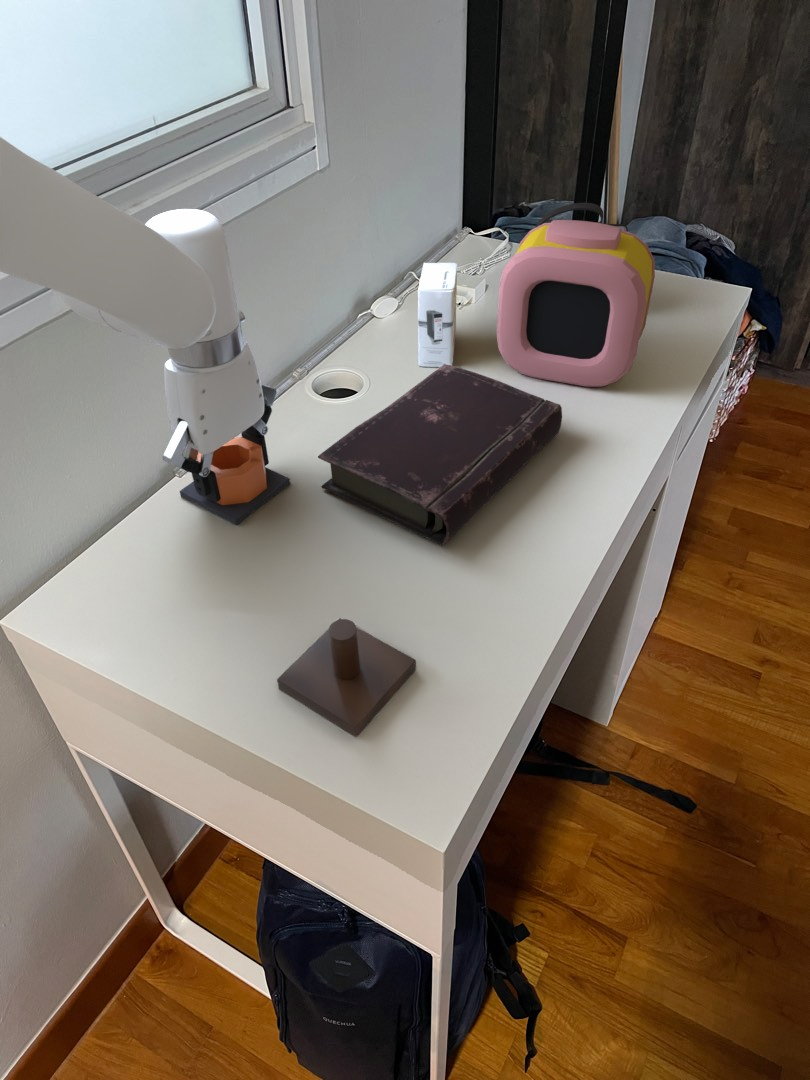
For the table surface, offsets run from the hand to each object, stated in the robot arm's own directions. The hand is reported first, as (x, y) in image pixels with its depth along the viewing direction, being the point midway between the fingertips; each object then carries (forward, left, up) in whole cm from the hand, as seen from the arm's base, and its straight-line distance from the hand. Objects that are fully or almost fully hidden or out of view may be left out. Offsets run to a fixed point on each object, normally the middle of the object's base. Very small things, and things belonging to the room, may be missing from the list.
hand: (233, 477), depth 94 cm
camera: (+63, -11, -2) cm, 64 cm away
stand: (-14, -28, -2) cm, 31 cm away
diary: (+18, -17, -2) cm, 25 cm away
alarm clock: (+46, -19, -2) cm, 50 cm away
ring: (0, 0, -1) cm, 1 cm away
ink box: (+39, -2, -2) cm, 39 cm away
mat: (0, 0, -2) cm, 2 cm away
